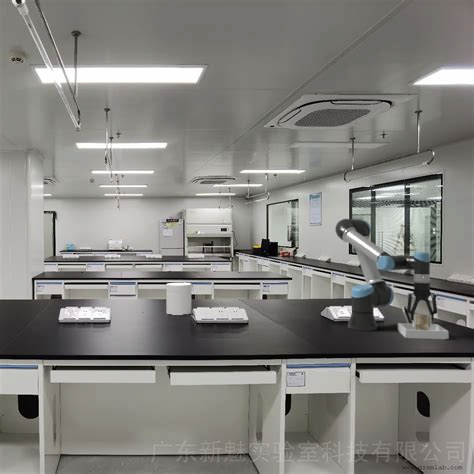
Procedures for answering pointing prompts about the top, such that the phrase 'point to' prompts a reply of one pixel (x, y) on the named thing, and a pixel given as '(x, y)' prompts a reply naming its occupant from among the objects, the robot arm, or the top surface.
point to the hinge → (407, 315)
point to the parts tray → (423, 332)
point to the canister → (178, 298)
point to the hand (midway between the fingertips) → (421, 326)
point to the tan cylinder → (422, 322)
